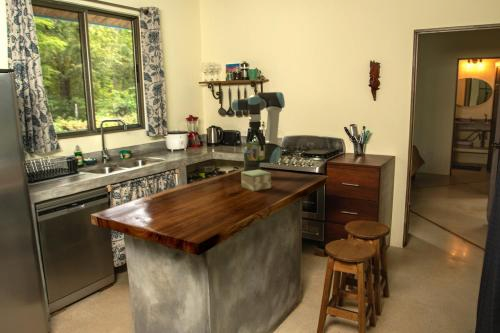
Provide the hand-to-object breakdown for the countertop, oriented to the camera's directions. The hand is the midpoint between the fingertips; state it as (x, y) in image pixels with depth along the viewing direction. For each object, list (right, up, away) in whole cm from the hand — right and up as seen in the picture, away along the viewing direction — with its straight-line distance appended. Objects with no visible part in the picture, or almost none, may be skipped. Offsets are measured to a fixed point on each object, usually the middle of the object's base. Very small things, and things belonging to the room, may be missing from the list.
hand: (256, 154), depth 254 cm
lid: (0, -12, +2) cm, 12 cm away
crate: (0, -21, +4) cm, 22 cm away
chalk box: (0, -3, +1) cm, 4 cm away
